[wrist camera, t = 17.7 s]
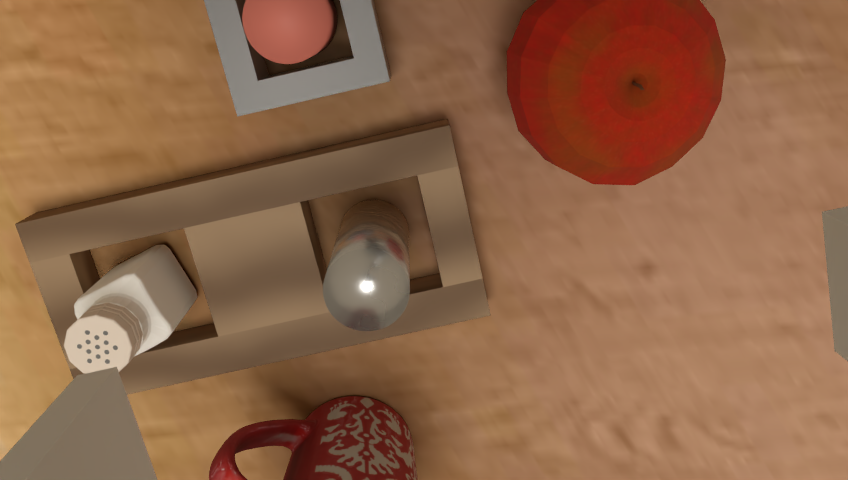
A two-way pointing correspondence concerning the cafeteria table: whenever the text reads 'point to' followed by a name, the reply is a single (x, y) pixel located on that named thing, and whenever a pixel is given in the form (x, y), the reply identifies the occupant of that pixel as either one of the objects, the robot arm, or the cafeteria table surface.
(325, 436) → the mug
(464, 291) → the board
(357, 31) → the button housing
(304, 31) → the button
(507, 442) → the cafeteria table surface
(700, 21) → the apple
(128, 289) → the pepper shaker
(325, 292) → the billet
